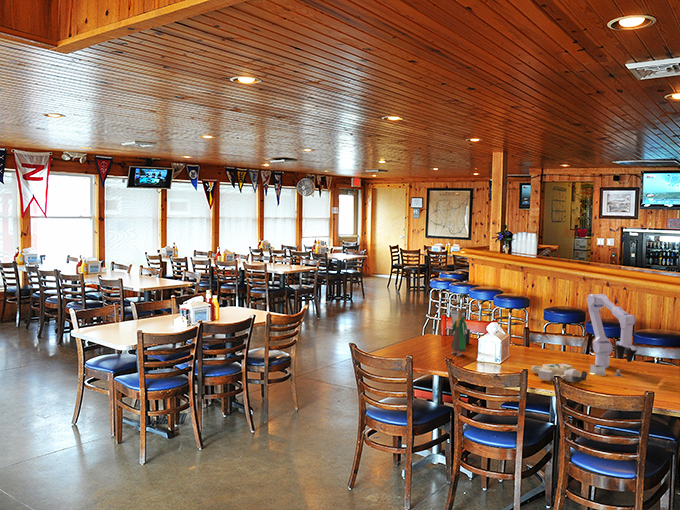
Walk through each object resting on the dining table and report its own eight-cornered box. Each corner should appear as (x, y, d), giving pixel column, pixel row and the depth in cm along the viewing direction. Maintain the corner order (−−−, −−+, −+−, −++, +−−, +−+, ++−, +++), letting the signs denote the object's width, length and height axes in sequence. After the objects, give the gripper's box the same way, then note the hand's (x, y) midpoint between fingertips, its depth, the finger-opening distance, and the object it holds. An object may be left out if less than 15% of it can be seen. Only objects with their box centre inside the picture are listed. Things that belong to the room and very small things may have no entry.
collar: (599, 371, 331) (599, 364, 331) (604, 374, 326) (605, 367, 326) (590, 371, 331) (590, 365, 330) (595, 374, 325) (596, 367, 325)
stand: (614, 375, 329) (615, 368, 329) (623, 376, 326) (623, 369, 326) (613, 377, 325) (613, 370, 325) (621, 378, 323) (622, 371, 322)
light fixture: (446, 346, 395) (448, 310, 393) (454, 341, 410) (455, 307, 409) (462, 348, 390) (463, 312, 388) (469, 343, 405) (471, 308, 404)
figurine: (446, 352, 376) (448, 306, 374) (455, 351, 380) (457, 305, 378) (462, 358, 362) (464, 310, 360) (471, 357, 365) (473, 309, 363)
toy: (578, 374, 301) (522, 363, 320) (577, 389, 302) (521, 378, 321) (593, 365, 321) (539, 355, 340) (592, 379, 321) (539, 369, 340)
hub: (590, 372, 335) (591, 365, 334) (607, 375, 329) (608, 368, 329) (586, 375, 328) (587, 368, 327) (604, 378, 322) (604, 371, 322)
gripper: (611, 333, 334) (610, 357, 334) (628, 339, 319) (626, 363, 320) (623, 333, 335) (621, 356, 336) (639, 338, 320) (638, 363, 321)
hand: (624, 360), depth 328 cm, fingers open, 7 cm apart
